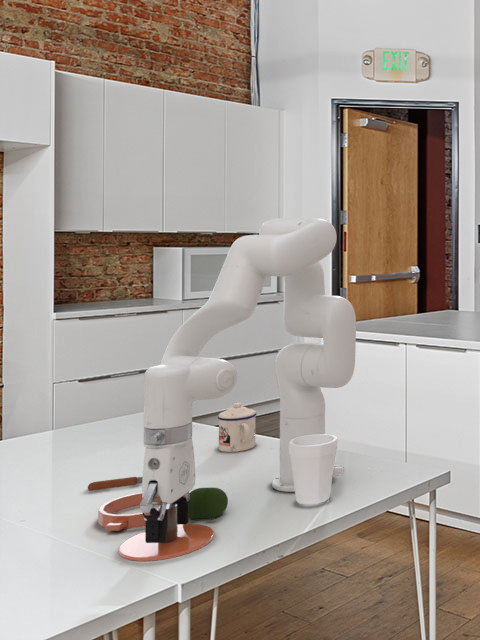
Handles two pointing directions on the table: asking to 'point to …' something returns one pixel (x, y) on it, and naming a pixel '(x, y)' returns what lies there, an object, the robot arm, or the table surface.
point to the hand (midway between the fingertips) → (167, 532)
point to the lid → (168, 540)
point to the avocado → (207, 503)
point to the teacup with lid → (236, 429)
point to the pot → (123, 520)
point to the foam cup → (313, 467)
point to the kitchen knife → (114, 483)
